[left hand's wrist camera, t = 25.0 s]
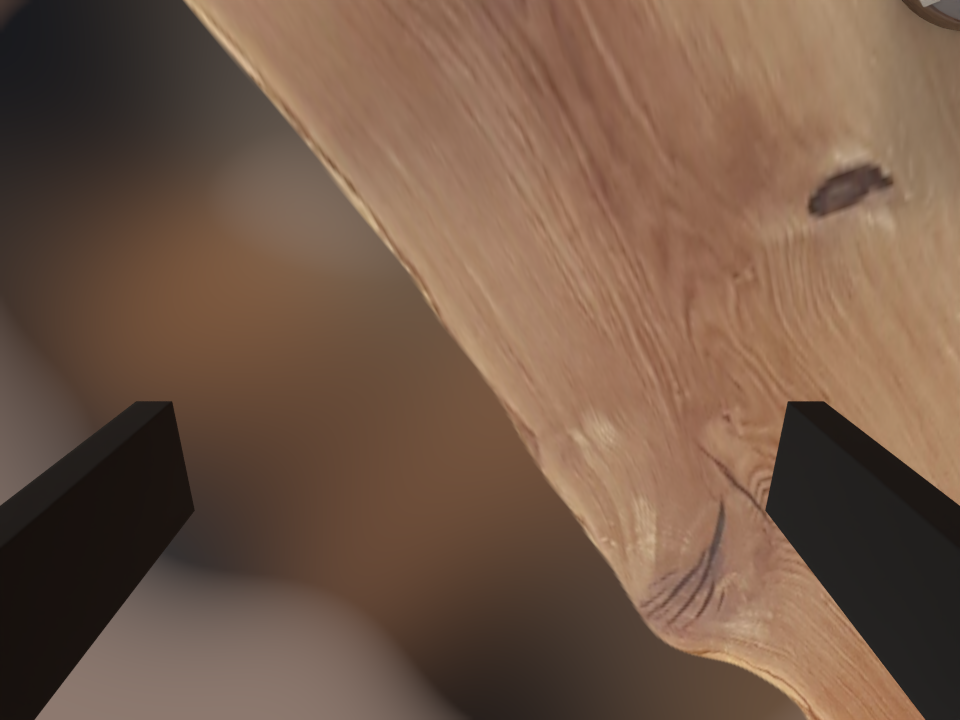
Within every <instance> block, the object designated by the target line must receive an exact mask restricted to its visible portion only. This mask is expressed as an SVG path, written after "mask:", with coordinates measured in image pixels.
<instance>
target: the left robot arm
mask: <svg viewBox="0 0 960 720" xmlns="http://www.w3.org/2000/svg"><path fill="white" fill-rule="evenodd" d="M902 1H903V2H904V3H905V4H906V5H907V6H908V7H909V8H910V9H911V10H912V11H913V12H915V13H916V14H917V15H919V16H920V17H922V18H923V19H925V20H927V21H928V22H930V23H933V24H935V25H937V26H940V27H944V28H947V29H952V30H959V31H960V0H902ZM765 511H766V512H767V513H768V515H769V516H770V517H771V518H772V520H773V521H774V522H775V524H776V525H777V526H778V528H779V529H780V530H781V532H782V533H783V534H784V535H785V537H786V538H787V539H788V541H789V542H790V543H791V545H792V546H793V547H794V549H795V550H796V551H797V552H798V554H799V555H800V556H801V558H802V559H803V560H804V562H805V563H806V564H807V565H808V567H809V568H810V569H811V571H812V572H813V573H814V575H815V576H816V577H817V579H818V580H819V581H820V582H821V584H822V585H823V586H824V588H825V589H826V590H827V592H828V593H829V594H830V596H831V597H832V598H833V599H834V601H835V602H836V603H837V605H838V606H839V607H840V609H841V610H842V611H843V613H844V614H845V615H846V616H847V618H848V619H849V620H850V622H851V623H852V624H853V626H854V627H855V628H856V630H857V631H858V632H859V633H860V635H861V636H862V637H863V639H864V640H865V641H866V643H867V644H868V645H869V647H870V648H871V649H872V650H873V652H874V653H875V654H876V656H877V657H878V658H879V660H880V661H881V662H882V664H883V665H884V666H885V667H886V669H887V670H888V671H889V673H890V674H891V675H892V677H893V678H894V679H895V680H896V682H897V683H898V684H899V686H900V687H901V688H902V690H903V691H904V692H905V694H906V695H907V696H908V697H909V699H910V700H911V701H912V703H913V704H914V705H915V707H916V708H917V709H918V711H919V712H920V713H921V714H922V716H923V717H924V718H925V720H960V506H959V505H958V504H957V503H955V502H954V501H953V500H951V499H950V498H949V497H948V496H946V495H945V494H944V493H942V492H941V491H940V490H938V489H937V488H936V487H935V486H933V485H932V484H931V483H929V482H928V481H927V480H925V479H924V478H923V477H922V476H920V475H919V474H918V473H916V472H915V471H914V470H912V469H911V468H910V467H909V466H907V465H906V464H905V463H903V462H902V461H901V460H899V459H898V458H897V457H895V456H894V455H893V454H892V453H890V452H889V451H888V450H886V449H885V448H884V447H882V446H881V445H880V444H879V443H877V442H876V441H875V440H873V439H872V438H871V437H869V436H868V435H867V434H866V433H864V432H863V431H862V430H860V429H859V428H858V427H856V426H855V425H854V424H853V423H851V422H850V421H849V420H847V419H846V418H845V417H843V416H842V415H841V414H839V413H838V412H837V411H836V410H834V409H833V408H832V407H830V406H829V405H828V404H826V403H825V402H824V401H788V403H787V408H786V413H785V418H784V423H783V428H782V432H781V437H780V442H779V447H778V452H777V457H776V462H775V466H774V471H773V476H772V481H771V486H770V491H769V496H768V500H767V505H766V510H765ZM193 512H194V505H193V501H192V496H191V491H190V486H189V481H188V476H187V471H186V466H185V462H184V457H183V452H182V447H181V442H180V437H179V432H178V428H177V423H176V418H175V413H174V408H173V403H172V401H137V402H135V403H134V404H132V405H131V406H130V407H128V408H127V409H126V410H124V411H123V412H122V413H121V414H119V415H118V416H117V417H115V418H114V419H113V420H112V421H110V422H109V423H108V424H106V425H105V426H104V427H102V428H101V429H100V430H98V431H97V432H96V433H94V434H93V435H92V436H91V437H89V438H88V439H87V440H85V441H84V442H83V443H81V444H80V445H79V446H78V447H76V448H75V449H74V450H72V451H71V452H70V453H68V454H67V455H66V456H65V457H63V458H62V459H61V460H59V461H58V462H57V463H55V464H54V465H53V466H51V467H50V468H49V469H48V470H46V471H45V472H44V473H42V474H41V475H40V476H38V477H37V478H36V479H35V480H33V481H32V482H31V483H29V484H28V485H27V486H25V487H24V488H23V489H22V490H20V491H19V492H18V493H16V494H15V495H14V496H12V497H11V498H10V499H9V500H7V501H6V502H5V503H3V504H2V505H1V506H0V720H35V718H36V717H37V716H38V714H39V713H40V712H41V710H42V709H43V708H44V707H45V705H46V704H47V703H48V701H49V700H50V699H51V697H52V696H53V695H54V694H55V692H56V691H57V690H58V688H59V687H60V686H61V684H62V683H63V682H64V680H65V679H66V678H67V677H68V675H69V674H70V673H71V671H72V670H73V669H74V667H75V666H76V665H77V664H78V662H79V661H80V660H81V658H82V657H83V656H84V654H85V653H86V652H87V650H88V649H89V648H90V647H91V645H92V644H93V643H94V641H95V640H96V639H97V637H98V636H99V635H100V633H101V632H102V631H103V629H104V628H105V627H106V625H107V624H108V623H109V622H110V620H111V619H112V618H113V616H114V615H115V614H116V613H117V611H118V610H119V609H120V607H121V606H122V605H123V603H124V602H125V601H126V599H127V598H128V597H129V596H130V594H131V593H132V592H133V590H134V589H135V588H136V586H137V585H138V584H139V582H140V581H141V580H142V578H143V577H144V576H145V575H146V573H147V572H148V571H149V569H150V568H151V567H152V565H153V564H154V563H155V562H156V560H157V559H158V558H159V556H160V555H161V554H162V552H163V551H164V550H165V548H166V547H167V546H168V545H169V543H170V542H171V541H172V539H173V538H174V537H175V535H176V534H177V533H178V531H179V530H180V529H181V528H182V526H183V525H184V524H185V522H186V521H187V520H188V518H189V517H190V516H191V514H192V513H193Z"/></svg>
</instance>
